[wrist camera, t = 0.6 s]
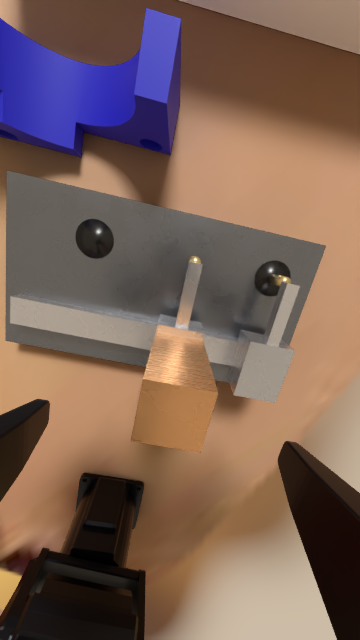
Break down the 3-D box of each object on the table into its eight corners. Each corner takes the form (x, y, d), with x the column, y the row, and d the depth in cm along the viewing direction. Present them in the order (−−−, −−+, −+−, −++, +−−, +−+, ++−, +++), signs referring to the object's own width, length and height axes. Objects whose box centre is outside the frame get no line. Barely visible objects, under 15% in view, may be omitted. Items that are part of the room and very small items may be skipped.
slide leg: (188, 366, 18) (197, 461, 10) (151, 359, 18) (129, 450, 10) (215, 260, 16) (255, 269, 8) (173, 251, 16) (167, 249, 8)
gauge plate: (265, 381, 21) (291, 418, 16) (18, 334, 20) (-33, 359, 15) (314, 246, 18) (362, 243, 13) (21, 177, 16) (-42, 147, 12)
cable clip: (-6, 135, 16) (-110, 69, 10) (-5, 54, 15) (-124, -75, 9) (166, 179, 17) (160, 141, 11) (180, 105, 16) (181, 18, 10)
